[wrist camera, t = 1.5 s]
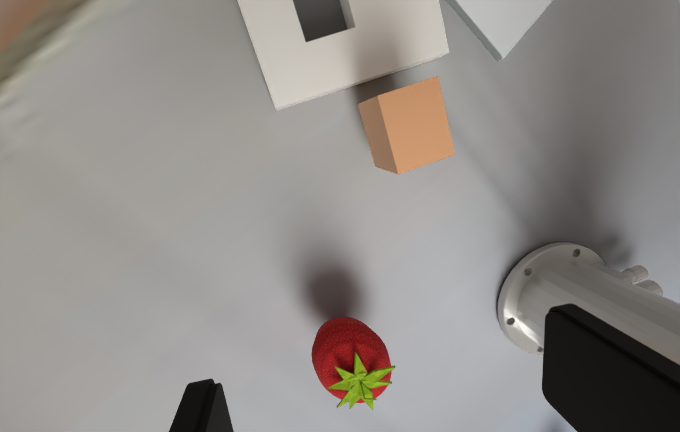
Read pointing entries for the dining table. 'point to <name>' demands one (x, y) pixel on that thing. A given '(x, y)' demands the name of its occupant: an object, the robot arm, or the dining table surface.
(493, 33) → the external hard drive
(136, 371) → the dining table surface
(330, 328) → the strawberry
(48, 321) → the dining table surface
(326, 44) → the socket
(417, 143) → the plug
